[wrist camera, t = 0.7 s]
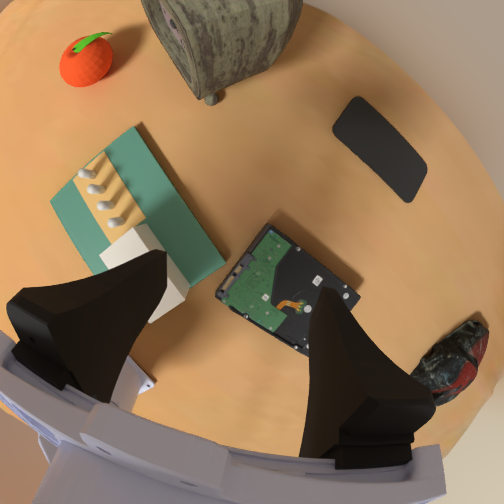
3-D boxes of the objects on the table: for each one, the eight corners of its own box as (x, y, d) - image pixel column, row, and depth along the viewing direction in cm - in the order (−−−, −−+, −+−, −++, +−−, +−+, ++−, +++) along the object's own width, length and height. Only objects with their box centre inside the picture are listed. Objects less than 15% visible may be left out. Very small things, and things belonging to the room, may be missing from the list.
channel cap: (159, 306, 30) (149, 323, 25) (116, 247, 28) (99, 255, 23) (190, 284, 30) (185, 299, 25) (146, 223, 28) (132, 227, 23)
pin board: (135, 323, 31) (126, 338, 27) (53, 201, 27) (36, 201, 23) (226, 261, 31) (227, 270, 27) (135, 128, 27) (125, 118, 23)
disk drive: (353, 288, 34) (265, 221, 31) (362, 295, 32) (270, 223, 28) (305, 349, 35) (213, 292, 32) (311, 359, 32) (212, 301, 29)
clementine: (113, 38, 24) (96, 11, 17) (135, 64, 25) (119, 36, 18) (67, 75, 24) (42, 55, 17) (85, 104, 25) (59, 86, 18)
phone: (409, 206, 32) (330, 130, 29) (406, 206, 33) (327, 132, 30) (429, 167, 32) (357, 92, 29) (426, 167, 33) (354, 94, 29)
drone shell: (391, 401, 39) (413, 426, 32) (443, 306, 37) (474, 322, 29) (448, 399, 43) (466, 417, 35) (488, 324, 41) (512, 337, 33)
